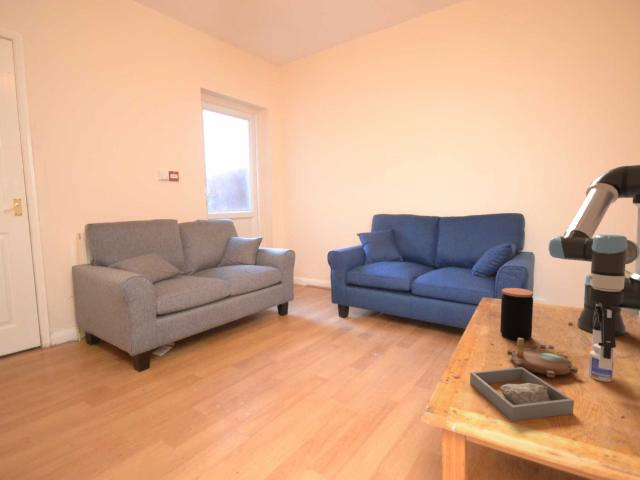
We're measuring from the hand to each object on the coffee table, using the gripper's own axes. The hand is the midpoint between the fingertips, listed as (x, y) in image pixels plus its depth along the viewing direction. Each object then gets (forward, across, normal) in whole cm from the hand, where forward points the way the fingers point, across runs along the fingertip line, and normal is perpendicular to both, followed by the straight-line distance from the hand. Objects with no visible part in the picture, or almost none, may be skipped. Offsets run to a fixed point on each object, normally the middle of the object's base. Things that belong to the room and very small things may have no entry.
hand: (601, 359), depth 101 cm
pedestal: (+6, 0, -15) cm, 16 cm away
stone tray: (+6, +23, -20) cm, 32 cm away
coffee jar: (+6, -24, -23) cm, 34 cm away
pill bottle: (+6, 0, 0) cm, 6 cm away
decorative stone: (+7, +24, -18) cm, 31 cm away
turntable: (+4, 0, -15) cm, 15 cm away
